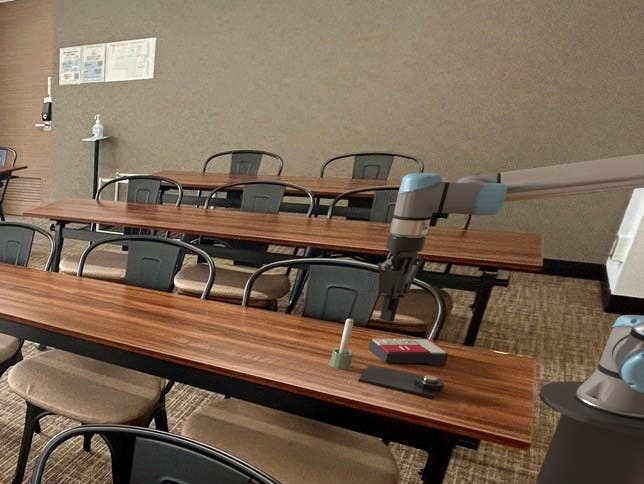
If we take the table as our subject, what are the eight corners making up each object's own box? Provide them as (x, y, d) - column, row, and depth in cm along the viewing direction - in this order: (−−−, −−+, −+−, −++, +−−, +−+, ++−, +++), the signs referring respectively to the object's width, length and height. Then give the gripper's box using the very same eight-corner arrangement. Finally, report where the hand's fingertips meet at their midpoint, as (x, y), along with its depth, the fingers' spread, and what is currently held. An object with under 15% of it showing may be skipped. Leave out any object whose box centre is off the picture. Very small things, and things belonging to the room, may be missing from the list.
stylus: (344, 365, 169) (354, 318, 164) (343, 367, 168) (353, 320, 163) (337, 363, 170) (347, 317, 165) (335, 365, 169) (345, 318, 164)
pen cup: (351, 366, 169) (355, 351, 167) (347, 372, 166) (350, 356, 164) (332, 362, 172) (335, 347, 171) (327, 367, 169) (331, 352, 168)
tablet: (445, 384, 155) (447, 376, 155) (437, 400, 148) (440, 391, 147) (368, 368, 167) (370, 360, 166) (357, 382, 160) (359, 374, 159)
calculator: (370, 337, 178) (428, 337, 174) (367, 350, 179) (425, 350, 175) (387, 351, 168) (450, 351, 164) (384, 364, 169) (446, 365, 165)
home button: (437, 381, 153) (438, 377, 152) (435, 385, 151) (436, 380, 151) (423, 378, 155) (424, 374, 154) (421, 382, 153) (422, 377, 153)
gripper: (404, 240, 144) (382, 327, 152) (442, 234, 147) (419, 320, 155) (373, 235, 150) (354, 319, 159) (410, 229, 153) (390, 312, 162)
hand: (386, 319), depth 157 cm, fingers closed
